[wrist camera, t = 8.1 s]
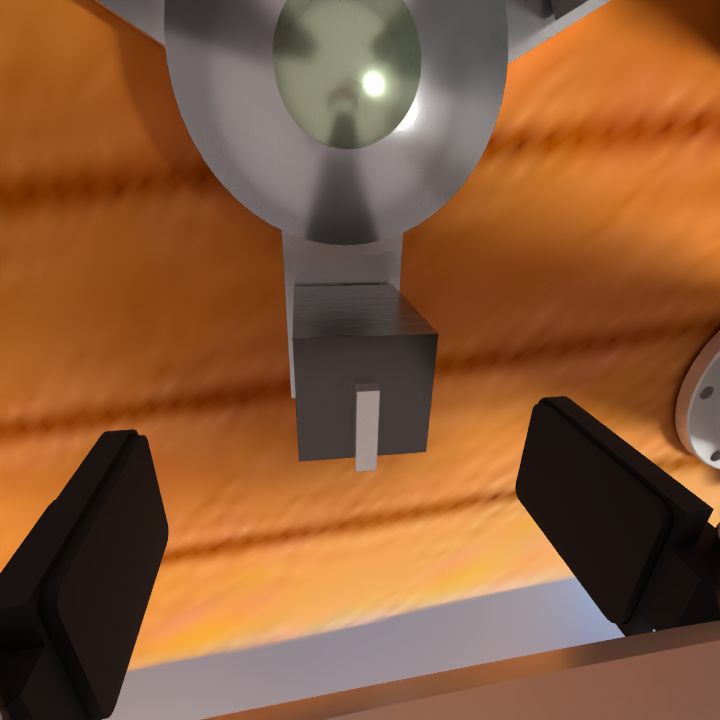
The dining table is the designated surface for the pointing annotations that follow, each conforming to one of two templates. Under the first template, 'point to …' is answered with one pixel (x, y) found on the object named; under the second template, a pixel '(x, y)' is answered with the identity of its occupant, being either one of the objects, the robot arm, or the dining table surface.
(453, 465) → the dining table surface
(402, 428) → the knob
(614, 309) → the dining table surface
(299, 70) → the tribrach base
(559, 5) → the knob
